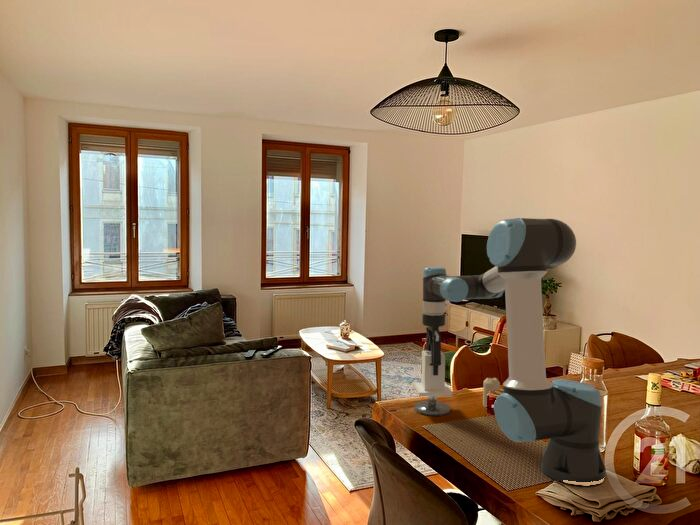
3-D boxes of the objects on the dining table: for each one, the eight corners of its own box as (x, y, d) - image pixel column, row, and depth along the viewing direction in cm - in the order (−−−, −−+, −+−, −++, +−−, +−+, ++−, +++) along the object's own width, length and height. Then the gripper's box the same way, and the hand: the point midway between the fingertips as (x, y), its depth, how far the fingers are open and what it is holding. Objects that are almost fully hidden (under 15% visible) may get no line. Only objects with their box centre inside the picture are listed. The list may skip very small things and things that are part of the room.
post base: (453, 415, 173) (454, 392, 172) (416, 416, 173) (417, 392, 172) (446, 403, 185) (446, 380, 184) (411, 403, 185) (412, 380, 184)
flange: (452, 396, 173) (453, 357, 172) (419, 396, 173) (419, 357, 172) (445, 385, 184) (446, 349, 183) (413, 385, 184) (414, 349, 182)
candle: (497, 403, 185) (498, 375, 184) (500, 409, 179) (501, 380, 178) (481, 403, 185) (482, 375, 184) (484, 408, 180) (484, 380, 179)
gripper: (451, 318, 167) (450, 390, 168) (439, 308, 186) (438, 372, 188) (427, 318, 166) (426, 390, 168) (418, 308, 186) (417, 372, 188)
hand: (432, 380), depth 178 cm, fingers closed on flange, 7 cm apart
